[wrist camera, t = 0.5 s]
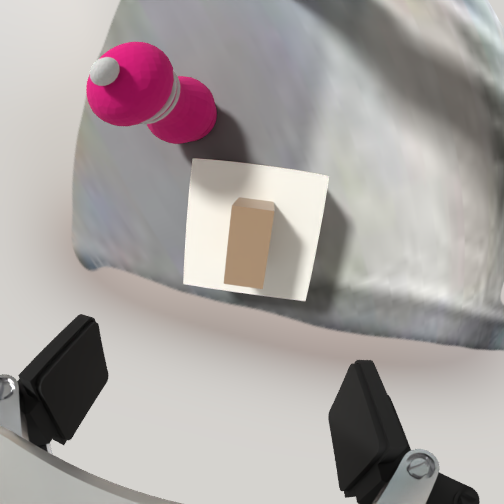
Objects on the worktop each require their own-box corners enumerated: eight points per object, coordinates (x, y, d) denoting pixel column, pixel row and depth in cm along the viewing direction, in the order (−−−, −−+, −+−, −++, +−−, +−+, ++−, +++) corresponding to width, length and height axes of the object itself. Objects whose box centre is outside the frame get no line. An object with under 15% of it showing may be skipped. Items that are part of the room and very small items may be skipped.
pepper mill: (227, 136, 30) (168, 98, 11) (169, 153, 31) (57, 151, 12) (213, 80, 28) (148, -6, 9) (156, 99, 29) (47, 51, 10)
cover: (210, 159, 31) (174, 157, 19) (314, 173, 31) (343, 179, 19) (201, 257, 35) (167, 307, 23) (298, 271, 35) (311, 328, 22)
